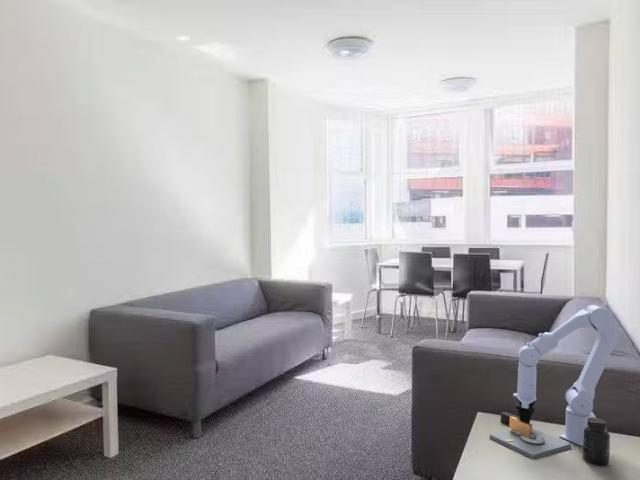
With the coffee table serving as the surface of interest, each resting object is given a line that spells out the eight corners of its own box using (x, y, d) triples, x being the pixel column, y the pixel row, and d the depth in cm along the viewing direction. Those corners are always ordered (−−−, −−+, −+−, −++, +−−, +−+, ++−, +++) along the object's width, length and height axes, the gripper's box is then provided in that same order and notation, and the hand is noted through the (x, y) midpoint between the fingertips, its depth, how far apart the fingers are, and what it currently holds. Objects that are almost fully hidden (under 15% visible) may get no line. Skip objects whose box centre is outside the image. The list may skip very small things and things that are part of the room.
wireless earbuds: (518, 429, 163) (519, 419, 163) (499, 422, 169) (500, 413, 169) (525, 426, 166) (526, 416, 166) (506, 419, 171) (507, 410, 171)
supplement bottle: (613, 468, 136) (614, 426, 136) (587, 465, 137) (588, 423, 137) (603, 457, 142) (605, 417, 142) (579, 454, 144) (580, 415, 144)
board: (526, 428, 163) (526, 424, 163) (570, 447, 149) (571, 442, 149) (489, 438, 154) (489, 433, 154) (532, 458, 140) (533, 453, 140)
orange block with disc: (549, 441, 149) (550, 427, 149) (534, 445, 146) (535, 431, 146) (517, 428, 159) (518, 415, 159) (503, 431, 156) (503, 418, 156)
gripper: (515, 375, 168) (514, 414, 168) (512, 386, 155) (510, 428, 155) (537, 378, 165) (536, 418, 165) (536, 390, 152) (534, 432, 152)
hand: (525, 423), depth 159 cm, fingers open, 7 cm apart
